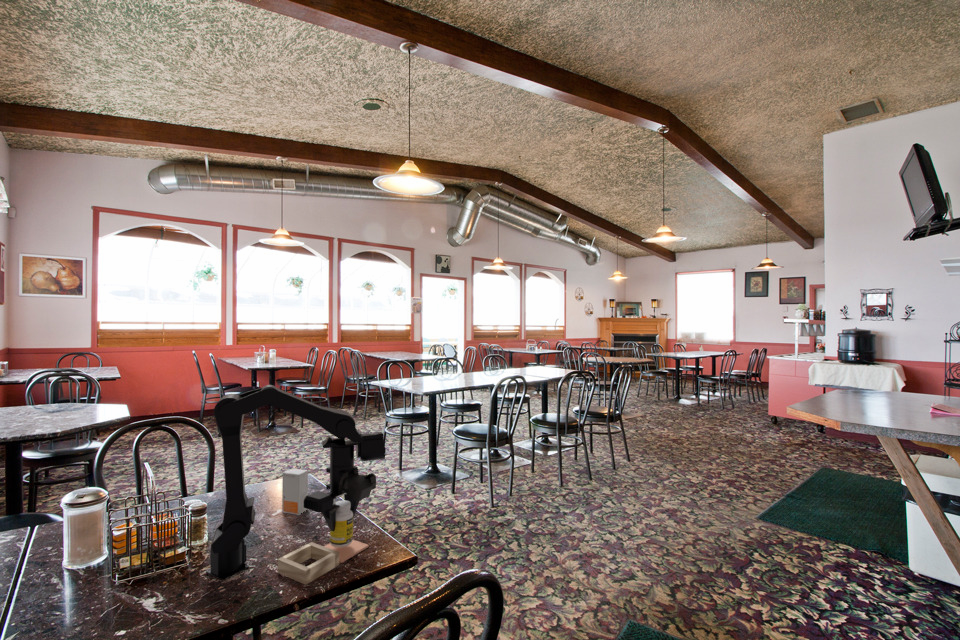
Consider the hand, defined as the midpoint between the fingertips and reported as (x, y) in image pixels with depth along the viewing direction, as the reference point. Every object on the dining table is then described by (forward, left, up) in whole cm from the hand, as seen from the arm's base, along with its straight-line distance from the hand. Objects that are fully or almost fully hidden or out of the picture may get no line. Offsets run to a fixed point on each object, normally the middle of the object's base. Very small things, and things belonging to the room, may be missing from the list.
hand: (341, 526), depth 116 cm
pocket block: (-10, 0, -6) cm, 12 cm away
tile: (0, 0, -6) cm, 6 cm away
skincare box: (+9, +29, -6) cm, 31 cm away
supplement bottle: (0, 0, -4) cm, 4 cm away
